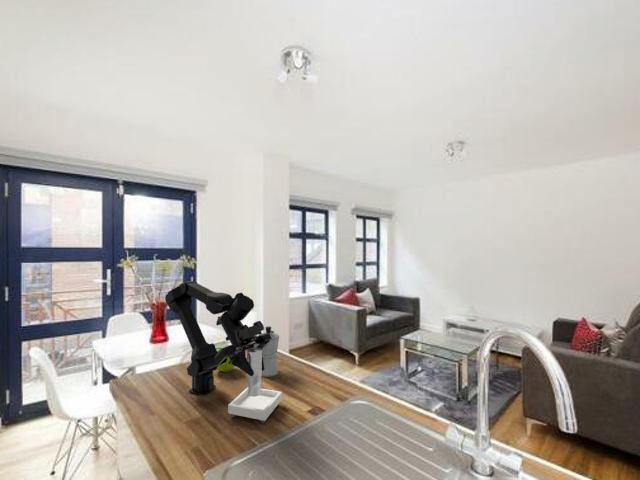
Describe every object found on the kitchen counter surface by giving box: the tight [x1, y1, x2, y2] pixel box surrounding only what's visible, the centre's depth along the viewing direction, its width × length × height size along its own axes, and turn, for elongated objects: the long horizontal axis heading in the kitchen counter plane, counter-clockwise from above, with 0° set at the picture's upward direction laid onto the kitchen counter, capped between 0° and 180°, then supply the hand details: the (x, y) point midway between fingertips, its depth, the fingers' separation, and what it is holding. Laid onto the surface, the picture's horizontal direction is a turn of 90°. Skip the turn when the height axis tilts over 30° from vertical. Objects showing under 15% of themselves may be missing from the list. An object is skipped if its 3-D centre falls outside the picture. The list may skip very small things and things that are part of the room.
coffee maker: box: [256, 326, 280, 378], centre depth 125 cm, size 15×9×18 cm, turn 179°
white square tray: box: [227, 386, 283, 424], centre depth 97 cm, size 12×12×4 cm
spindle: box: [247, 348, 262, 397], centre depth 94 cm, size 4×4×13 cm
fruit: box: [215, 345, 236, 373], centre depth 125 cm, size 9×9×10 cm
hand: (258, 372), depth 94 cm, fingers closed on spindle, 4 cm apart
